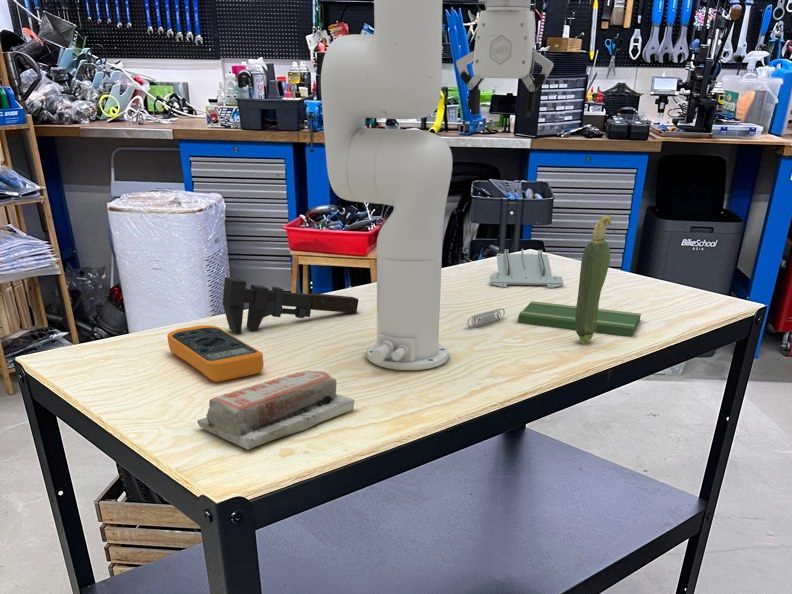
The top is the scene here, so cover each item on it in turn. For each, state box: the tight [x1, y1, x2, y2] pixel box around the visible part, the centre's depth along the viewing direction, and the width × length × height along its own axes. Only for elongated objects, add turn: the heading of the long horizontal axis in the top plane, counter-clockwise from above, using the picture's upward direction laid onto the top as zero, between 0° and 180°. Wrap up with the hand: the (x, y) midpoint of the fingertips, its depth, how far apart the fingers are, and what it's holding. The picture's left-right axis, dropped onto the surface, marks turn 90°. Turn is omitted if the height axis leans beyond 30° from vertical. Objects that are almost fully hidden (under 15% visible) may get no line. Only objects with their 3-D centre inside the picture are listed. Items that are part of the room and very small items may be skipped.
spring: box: [466, 307, 506, 329], centre depth 140 cm, size 10×2×2 cm, turn 134°
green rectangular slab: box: [517, 300, 642, 337], centre depth 142 cm, size 10×20×2 cm, turn 69°
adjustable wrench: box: [222, 276, 359, 334], centre depth 138 cm, size 8×3×25 cm
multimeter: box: [167, 324, 264, 383], centre depth 119 cm, size 9×18×3 cm, turn 36°
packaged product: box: [196, 370, 356, 451], centre depth 101 cm, size 18×5×10 cm
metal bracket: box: [489, 248, 564, 289], centre depth 168 cm, size 14×6×15 cm
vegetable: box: [575, 214, 612, 344], centre depth 127 cm, size 4×4×20 cm
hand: (500, 115), depth 143 cm, fingers open, 9 cm apart
